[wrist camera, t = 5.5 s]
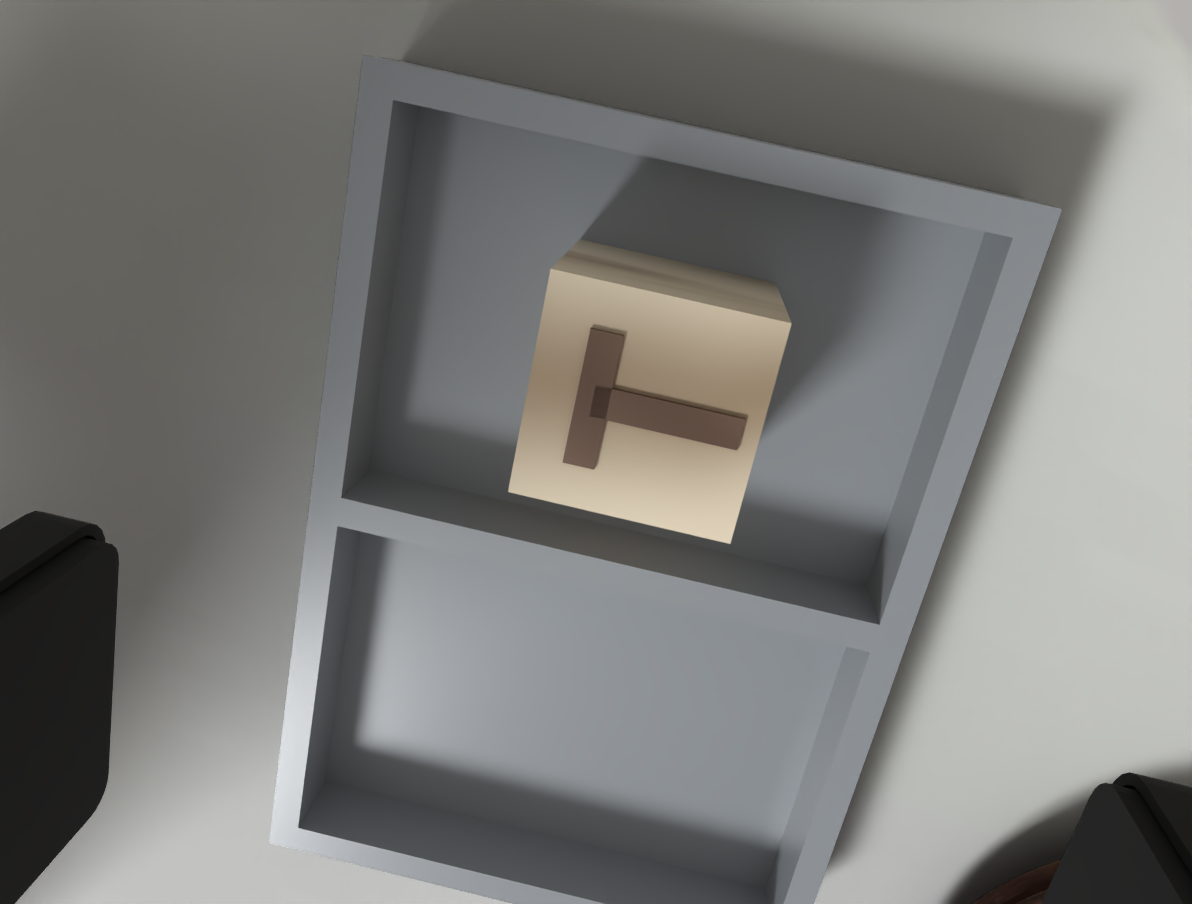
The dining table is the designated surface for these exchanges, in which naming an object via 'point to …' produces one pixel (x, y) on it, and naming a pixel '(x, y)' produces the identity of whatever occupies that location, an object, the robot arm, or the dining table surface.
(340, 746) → the tray
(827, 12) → the dining table surface
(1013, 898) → the wooden disc sculpture
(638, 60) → the dining table surface
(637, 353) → the letter block
